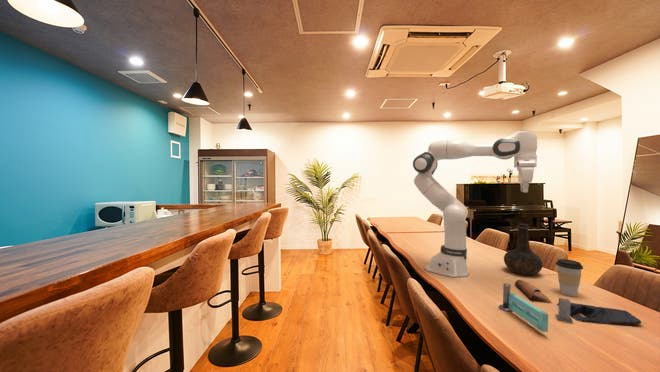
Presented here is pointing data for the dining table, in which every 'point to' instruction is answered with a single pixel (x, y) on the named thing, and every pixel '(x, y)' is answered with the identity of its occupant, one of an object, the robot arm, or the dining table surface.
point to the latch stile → (564, 310)
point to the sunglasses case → (532, 292)
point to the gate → (528, 312)
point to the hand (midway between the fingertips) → (524, 192)
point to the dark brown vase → (523, 255)
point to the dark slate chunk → (601, 315)
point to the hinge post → (506, 298)
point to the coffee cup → (569, 276)
